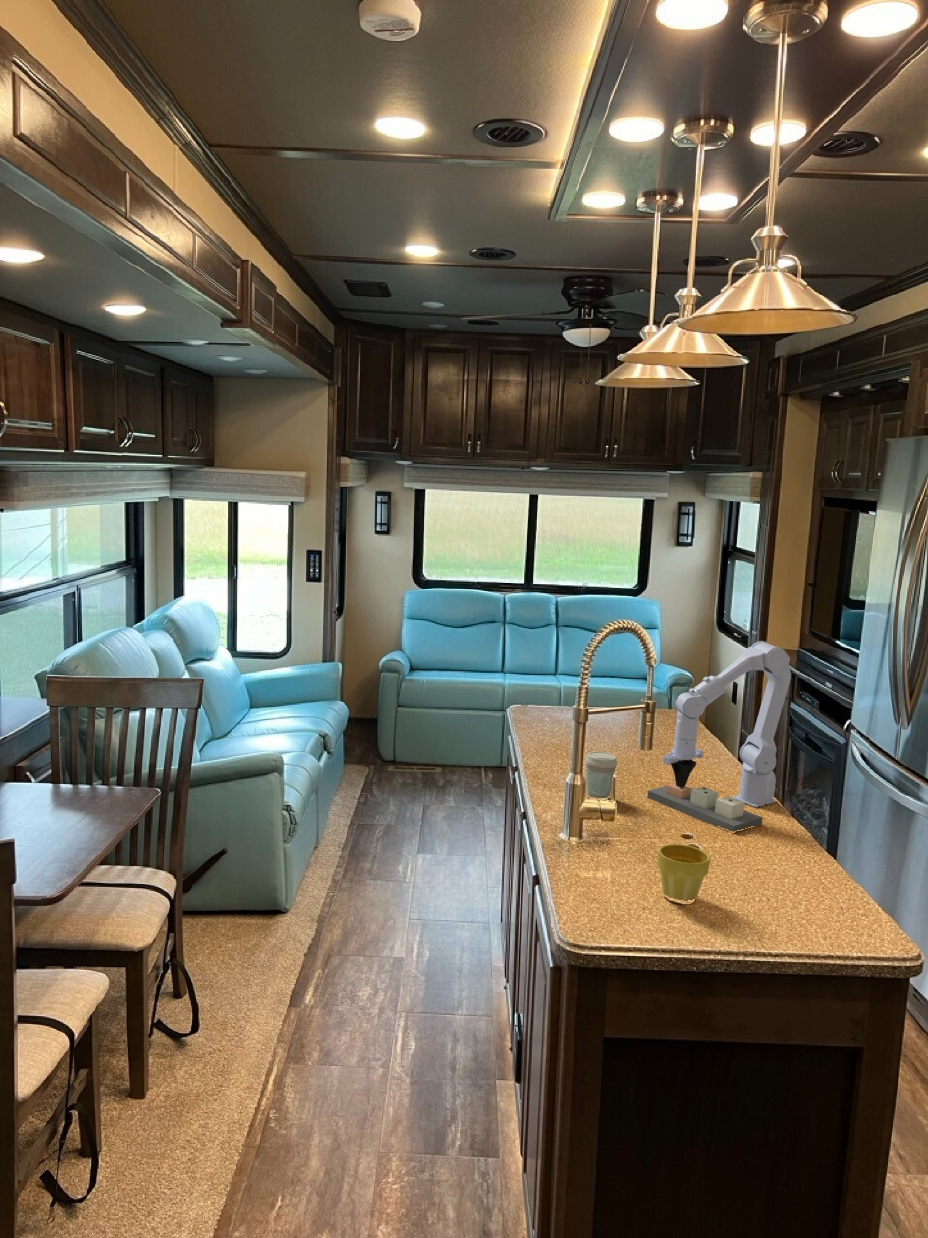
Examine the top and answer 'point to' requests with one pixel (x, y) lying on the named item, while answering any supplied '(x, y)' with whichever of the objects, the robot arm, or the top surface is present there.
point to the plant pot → (682, 870)
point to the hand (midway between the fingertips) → (680, 786)
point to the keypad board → (704, 811)
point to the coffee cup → (600, 773)
